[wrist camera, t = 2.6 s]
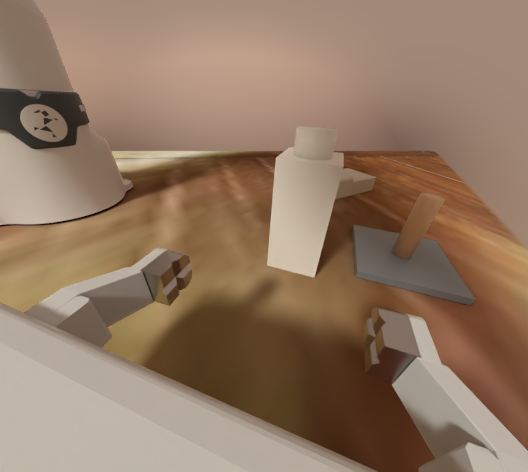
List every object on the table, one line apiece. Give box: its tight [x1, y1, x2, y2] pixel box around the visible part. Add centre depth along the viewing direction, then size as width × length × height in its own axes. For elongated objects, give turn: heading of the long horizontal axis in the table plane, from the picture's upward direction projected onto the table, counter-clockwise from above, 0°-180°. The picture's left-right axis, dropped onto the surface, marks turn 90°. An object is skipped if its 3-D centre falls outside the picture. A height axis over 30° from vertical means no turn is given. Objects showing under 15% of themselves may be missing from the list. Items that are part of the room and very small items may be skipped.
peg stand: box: [352, 193, 476, 305], centre depth 22 cm, size 10×10×8 cm
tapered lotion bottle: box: [267, 126, 344, 277], centre depth 20 cm, size 5×5×13 cm
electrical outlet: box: [335, 168, 377, 199], centre depth 41 cm, size 7×4×18 cm
